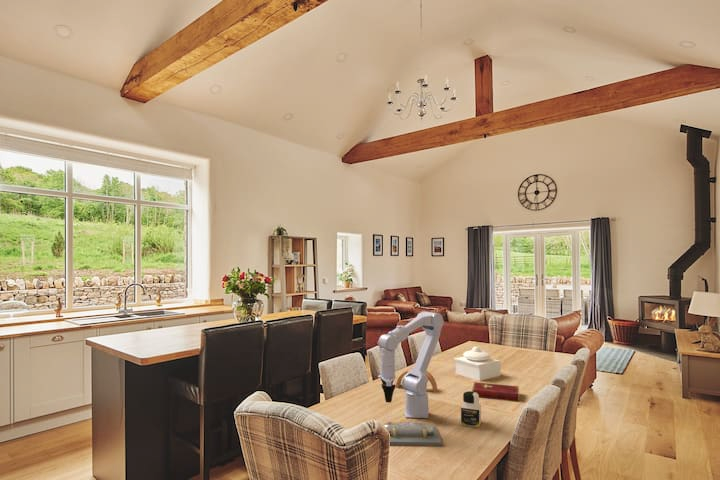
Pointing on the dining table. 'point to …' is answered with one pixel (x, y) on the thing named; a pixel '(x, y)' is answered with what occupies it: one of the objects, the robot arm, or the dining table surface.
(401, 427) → the spanner bar
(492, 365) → the butter dish
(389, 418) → the dining table surface
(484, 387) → the hardcover book
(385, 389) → the robot arm
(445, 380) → the dining table surface
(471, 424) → the medicine bottle
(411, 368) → the arch
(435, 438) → the tool rest
